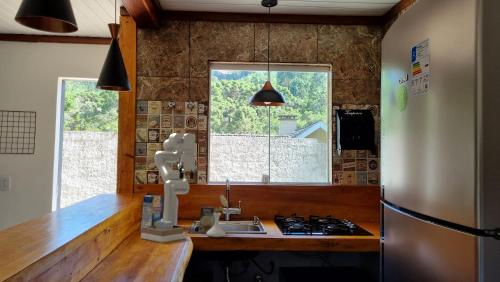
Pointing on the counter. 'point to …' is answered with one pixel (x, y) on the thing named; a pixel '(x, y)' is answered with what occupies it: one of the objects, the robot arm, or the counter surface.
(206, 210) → the coffee box
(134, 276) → the counter surface
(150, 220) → the beverage box
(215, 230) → the flower in vase
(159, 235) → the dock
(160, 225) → the tall pale blue box
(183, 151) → the robot arm
